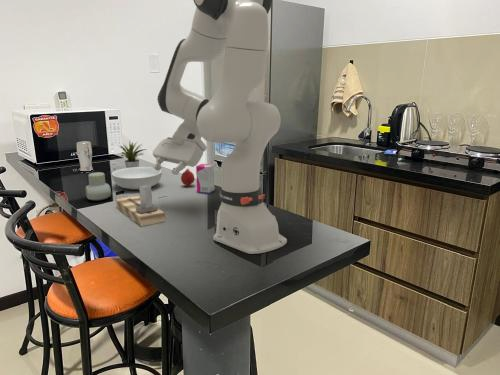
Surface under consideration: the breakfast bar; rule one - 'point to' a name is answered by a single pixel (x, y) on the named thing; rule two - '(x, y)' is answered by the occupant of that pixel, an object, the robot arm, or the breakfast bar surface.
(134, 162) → the house plant
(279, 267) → the breakfast bar surface
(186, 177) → the onion
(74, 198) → the breakfast bar surface
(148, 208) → the grey upright piece
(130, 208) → the tan flat bar
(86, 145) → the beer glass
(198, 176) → the supplement box
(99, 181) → the air freshener
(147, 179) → the serving bowl
